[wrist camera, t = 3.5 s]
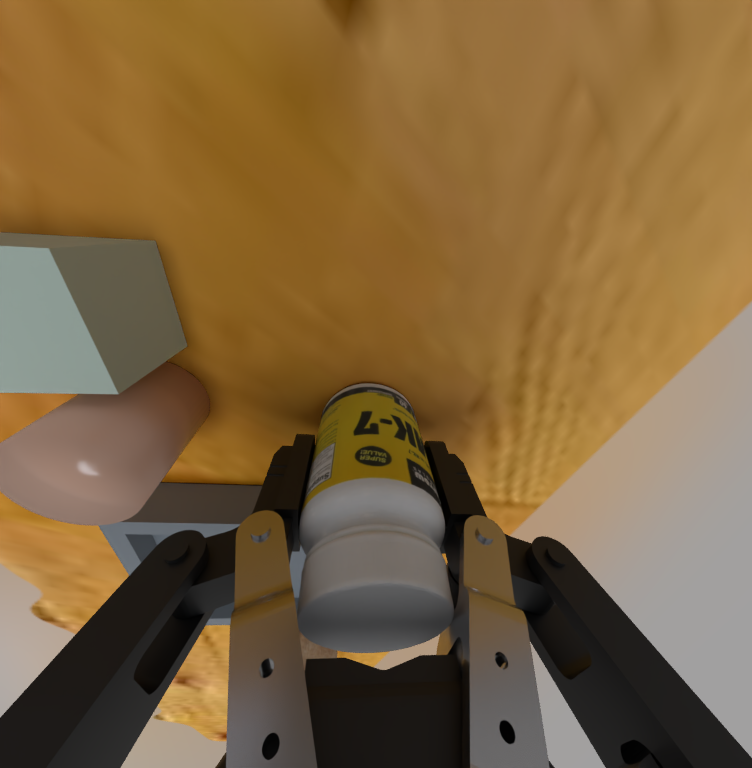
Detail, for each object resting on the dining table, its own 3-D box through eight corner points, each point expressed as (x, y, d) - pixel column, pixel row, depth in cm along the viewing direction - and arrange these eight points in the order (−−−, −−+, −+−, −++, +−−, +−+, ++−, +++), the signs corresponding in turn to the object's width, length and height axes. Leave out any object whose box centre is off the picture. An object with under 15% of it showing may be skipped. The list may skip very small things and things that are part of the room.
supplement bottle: (432, 406, 14) (513, 603, 7) (382, 465, 16) (402, 669, 9) (349, 362, 13) (336, 553, 5) (305, 433, 14) (249, 646, 7)
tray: (131, 481, 15) (95, 521, 13) (339, 488, 17) (337, 525, 14) (180, 586, 21) (160, 625, 19) (333, 586, 22) (330, 623, 20)
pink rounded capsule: (98, 357, 12) (-49, 434, 7) (199, 360, 12) (119, 434, 8) (131, 431, 14) (31, 527, 9) (217, 432, 14) (161, 523, 10)
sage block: (4, 232, 10) (-198, 236, 6) (157, 240, 10) (49, 248, 6) (63, 341, 12) (-64, 391, 8) (189, 345, 12) (118, 394, 8)
